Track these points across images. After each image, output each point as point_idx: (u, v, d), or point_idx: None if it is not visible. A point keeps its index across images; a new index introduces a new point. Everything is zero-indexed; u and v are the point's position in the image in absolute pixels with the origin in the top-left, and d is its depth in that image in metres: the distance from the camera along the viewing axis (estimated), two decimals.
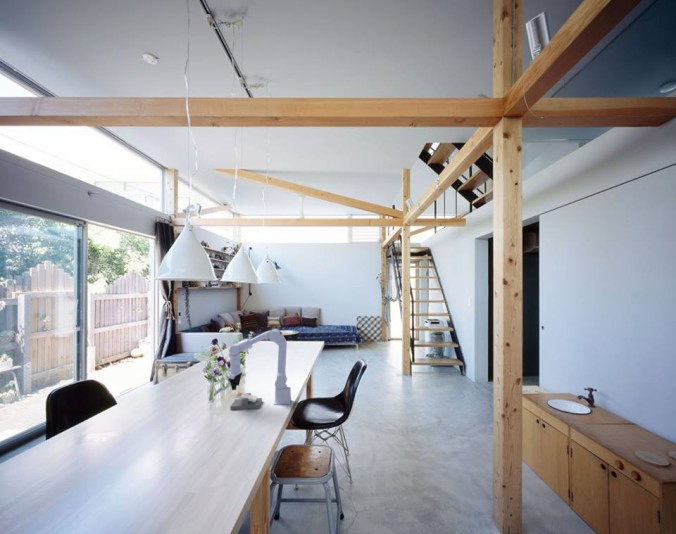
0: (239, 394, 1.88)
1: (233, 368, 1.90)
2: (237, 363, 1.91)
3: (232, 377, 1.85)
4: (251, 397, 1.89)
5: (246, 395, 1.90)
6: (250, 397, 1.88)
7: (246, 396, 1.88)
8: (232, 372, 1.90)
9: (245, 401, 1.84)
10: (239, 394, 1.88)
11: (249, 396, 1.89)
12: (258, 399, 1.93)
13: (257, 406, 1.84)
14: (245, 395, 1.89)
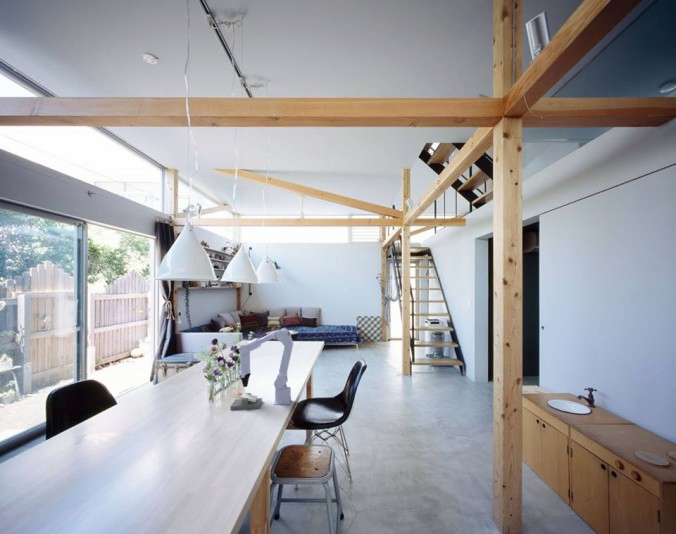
0: (239, 394, 1.88)
1: (243, 367, 1.93)
2: (246, 362, 1.94)
3: (242, 376, 1.88)
4: (251, 397, 1.89)
5: (246, 395, 1.90)
6: (250, 397, 1.88)
7: (246, 396, 1.88)
8: (242, 371, 1.93)
9: (245, 401, 1.84)
10: (239, 394, 1.88)
11: (249, 396, 1.89)
12: (258, 399, 1.93)
13: (257, 406, 1.84)
14: (245, 395, 1.89)
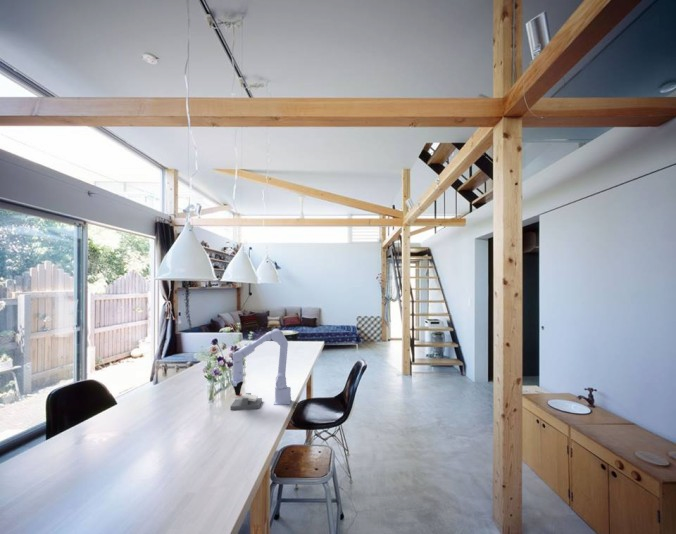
0: None
1: (236, 375, 1.87)
2: (240, 370, 1.88)
3: (234, 384, 1.82)
4: (251, 397, 1.89)
5: (246, 395, 1.90)
6: (250, 397, 1.88)
7: (246, 396, 1.88)
8: (234, 379, 1.87)
9: (245, 401, 1.84)
10: (239, 395, 1.88)
11: (249, 396, 1.89)
12: (258, 399, 1.93)
13: (257, 406, 1.84)
14: (245, 395, 1.89)
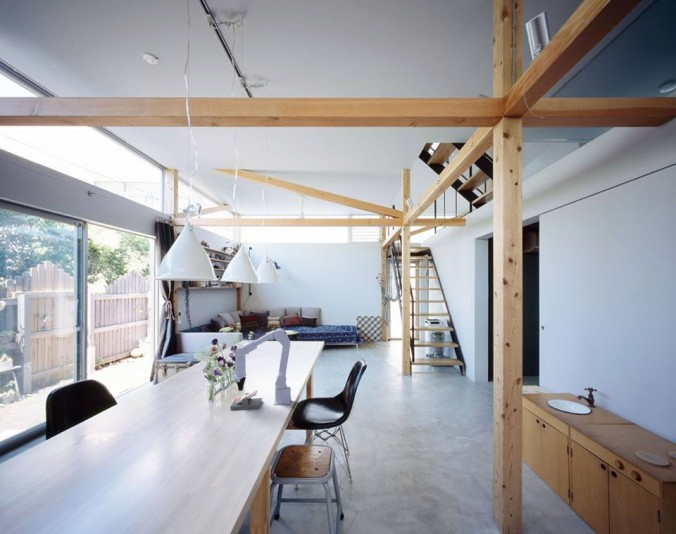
0: (239, 399, 1.88)
1: (239, 371, 1.88)
2: (243, 366, 1.89)
3: (237, 380, 1.84)
4: (250, 394, 1.89)
5: (245, 395, 1.90)
6: (249, 395, 1.88)
7: (245, 396, 1.88)
8: (237, 375, 1.88)
9: (245, 401, 1.84)
10: (239, 399, 1.88)
11: (248, 394, 1.89)
12: (258, 399, 1.93)
13: (257, 406, 1.84)
14: (244, 396, 1.89)
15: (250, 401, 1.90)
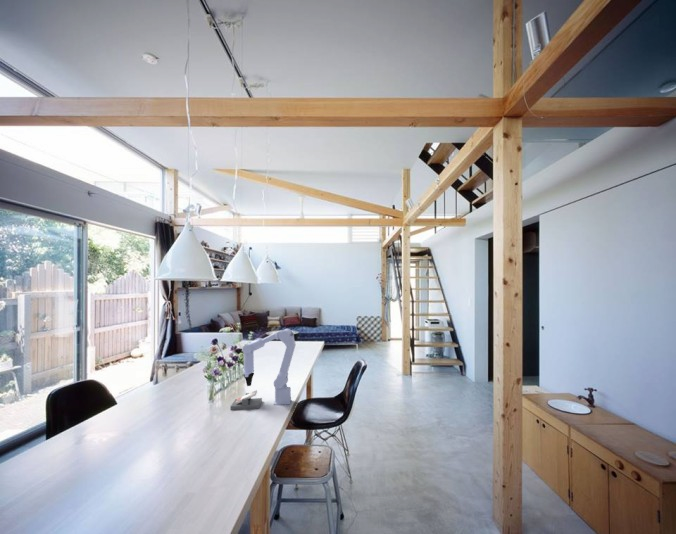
0: (239, 399, 1.88)
1: (247, 366, 1.94)
2: (250, 362, 1.95)
3: (246, 375, 1.89)
4: (250, 394, 1.89)
5: (245, 395, 1.90)
6: (249, 394, 1.88)
7: (245, 396, 1.88)
8: (246, 370, 1.94)
9: (245, 401, 1.84)
10: (239, 399, 1.88)
11: (248, 394, 1.89)
12: (258, 399, 1.93)
13: (257, 406, 1.84)
14: (244, 396, 1.89)
15: (250, 401, 1.90)
